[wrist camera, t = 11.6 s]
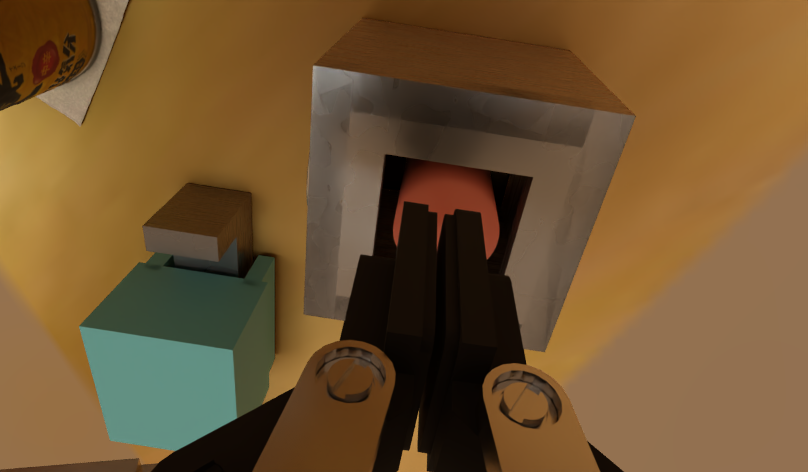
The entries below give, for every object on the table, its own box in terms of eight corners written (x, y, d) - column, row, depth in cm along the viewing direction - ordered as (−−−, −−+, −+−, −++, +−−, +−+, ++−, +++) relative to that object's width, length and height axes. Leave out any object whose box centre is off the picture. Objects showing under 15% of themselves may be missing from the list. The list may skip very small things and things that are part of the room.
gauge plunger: (412, 117, 18) (400, 176, 13) (496, 131, 18) (510, 194, 13) (401, 193, 19) (387, 267, 15) (478, 205, 19) (486, 282, 15)
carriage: (160, 239, 25) (79, 326, 19) (280, 258, 25) (232, 350, 19) (175, 343, 29) (110, 440, 23) (280, 359, 29) (239, 460, 23)
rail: (187, 182, 23) (142, 225, 20) (250, 193, 23) (217, 237, 20) (213, 444, 34) (187, 502, 30) (258, 451, 34) (236, 509, 30)
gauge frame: (351, 16, 19) (296, 62, 12) (570, 50, 19) (635, 116, 12) (338, 201, 23) (291, 312, 17) (517, 229, 23) (544, 351, 17)
